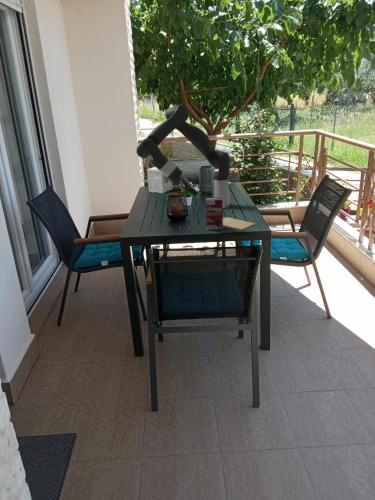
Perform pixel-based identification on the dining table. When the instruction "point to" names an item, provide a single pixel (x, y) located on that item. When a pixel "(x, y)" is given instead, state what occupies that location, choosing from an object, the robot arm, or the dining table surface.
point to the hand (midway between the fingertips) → (196, 194)
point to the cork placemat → (236, 223)
